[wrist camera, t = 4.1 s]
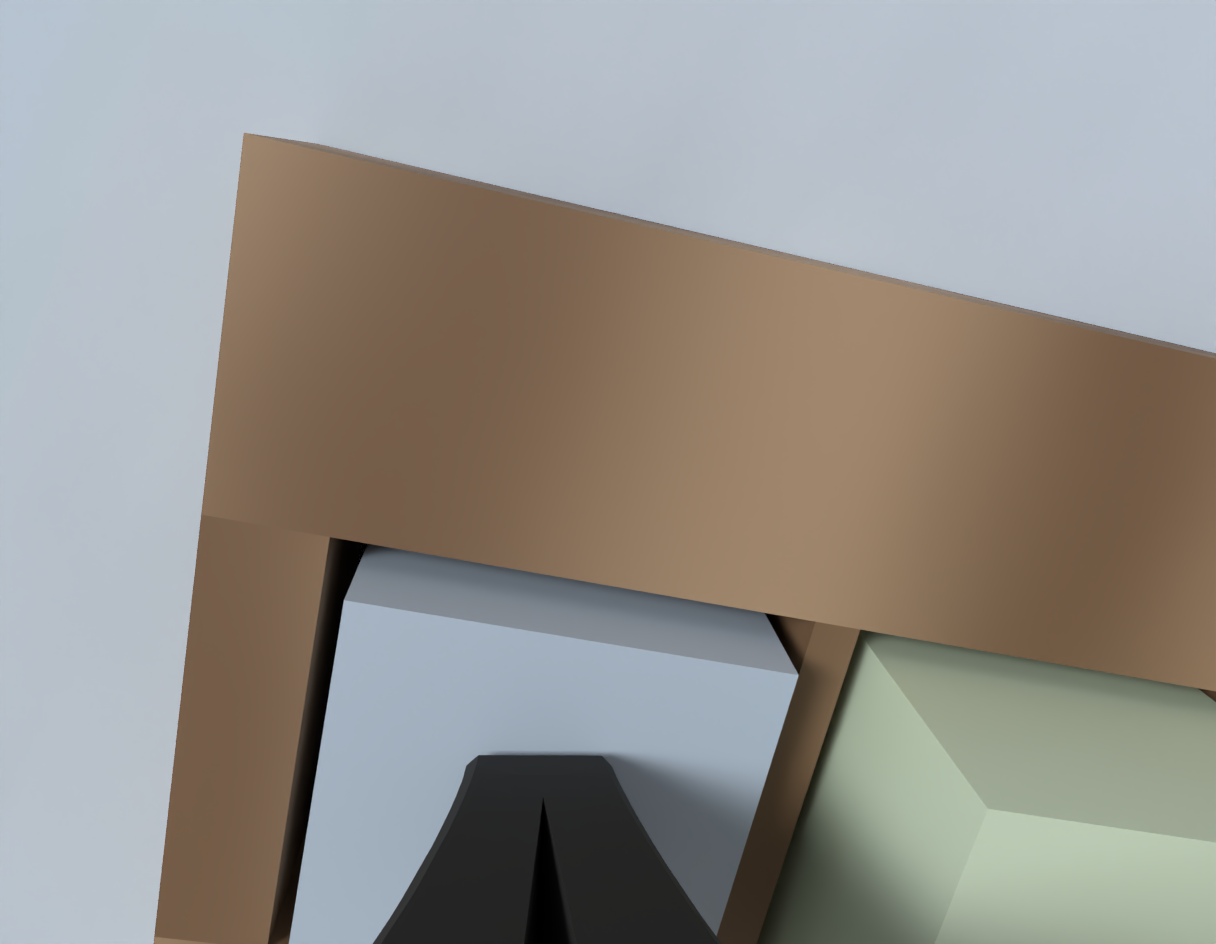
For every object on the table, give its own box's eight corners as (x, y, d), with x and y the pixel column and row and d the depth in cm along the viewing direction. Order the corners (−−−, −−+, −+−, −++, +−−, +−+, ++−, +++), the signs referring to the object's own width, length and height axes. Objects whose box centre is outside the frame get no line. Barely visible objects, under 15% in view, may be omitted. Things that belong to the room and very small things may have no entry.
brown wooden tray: (1624, 448, 14) (1918, 521, 11) (1276, 1083, 17) (1429, 1269, 14) (317, 143, 11) (243, 133, 8) (208, 970, 14) (128, 1170, 11)
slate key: (727, 545, 12) (798, 675, 9) (648, 828, 14) (686, 1031, 10) (392, 483, 12) (343, 599, 9) (341, 786, 13) (280, 987, 10)
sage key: (1186, 680, 12) (1444, 876, 8) (1057, 970, 13) (1237, 1239, 10) (850, 621, 11) (987, 808, 8) (748, 933, 12) (830, 1208, 9)
